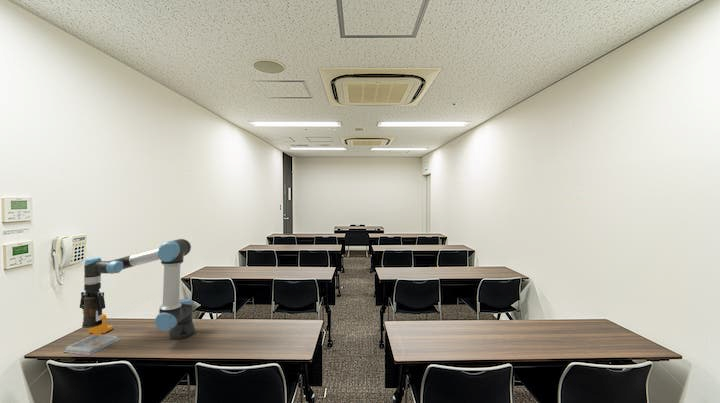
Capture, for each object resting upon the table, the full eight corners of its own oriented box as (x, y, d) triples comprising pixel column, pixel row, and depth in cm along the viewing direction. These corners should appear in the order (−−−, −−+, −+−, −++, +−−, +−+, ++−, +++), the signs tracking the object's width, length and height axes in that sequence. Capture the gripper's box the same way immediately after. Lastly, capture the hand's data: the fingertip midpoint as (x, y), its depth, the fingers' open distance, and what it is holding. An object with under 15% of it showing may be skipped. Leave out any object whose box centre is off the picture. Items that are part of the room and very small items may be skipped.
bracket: (113, 329, 202) (113, 312, 202) (104, 334, 195) (104, 316, 195) (97, 329, 202) (97, 312, 202) (88, 334, 194) (88, 316, 194)
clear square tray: (119, 340, 186) (119, 335, 186) (89, 355, 168) (89, 349, 168) (95, 338, 189) (95, 333, 189) (63, 352, 171) (63, 347, 171)
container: (78, 327, 175) (78, 297, 175) (94, 321, 184) (94, 293, 184) (90, 329, 173) (90, 298, 173) (106, 322, 182) (106, 294, 182)
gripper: (113, 282, 181) (113, 318, 181) (84, 280, 184) (84, 316, 184) (101, 285, 173) (100, 323, 173) (71, 283, 176) (71, 321, 176)
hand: (92, 319), depth 178 cm, fingers closed on container, 8 cm apart
